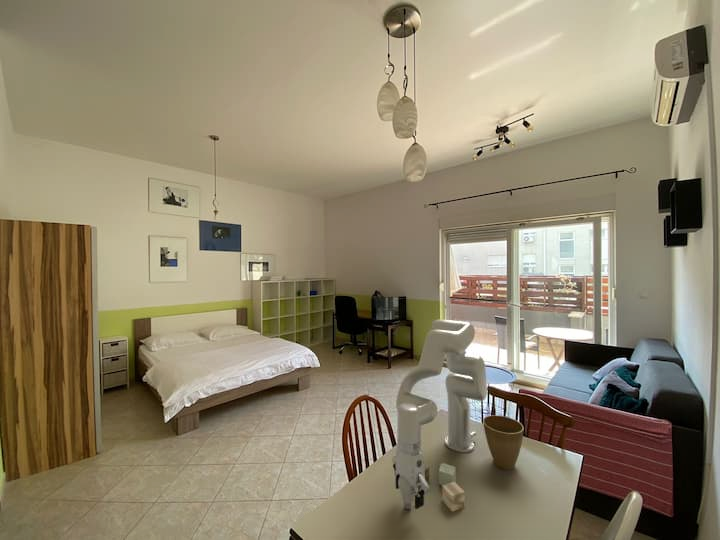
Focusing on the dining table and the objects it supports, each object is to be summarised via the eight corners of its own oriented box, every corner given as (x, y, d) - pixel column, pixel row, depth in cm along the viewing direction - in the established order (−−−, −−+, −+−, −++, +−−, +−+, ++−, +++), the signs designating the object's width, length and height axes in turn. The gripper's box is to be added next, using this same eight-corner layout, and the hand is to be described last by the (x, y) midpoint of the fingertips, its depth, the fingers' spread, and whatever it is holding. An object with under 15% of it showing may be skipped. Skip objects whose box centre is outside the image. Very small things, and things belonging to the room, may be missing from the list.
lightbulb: (404, 498, 98) (404, 465, 99) (420, 507, 94) (420, 473, 95) (394, 509, 94) (394, 475, 94) (411, 519, 90) (411, 483, 90)
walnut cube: (417, 474, 111) (417, 460, 111) (429, 480, 107) (429, 466, 107) (410, 480, 107) (410, 467, 107) (422, 487, 104) (421, 473, 104)
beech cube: (454, 496, 99) (454, 481, 99) (464, 507, 95) (464, 491, 95) (442, 500, 98) (442, 485, 98) (452, 511, 93) (451, 495, 93)
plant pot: (514, 453, 124) (513, 415, 124) (531, 477, 109) (530, 434, 109) (478, 451, 125) (478, 413, 125) (490, 474, 110) (490, 432, 111)
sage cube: (442, 476, 109) (442, 462, 110) (455, 480, 107) (455, 467, 107) (438, 484, 105) (438, 470, 105) (453, 489, 103) (452, 475, 103)
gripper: (436, 453, 89) (437, 510, 89) (401, 428, 104) (401, 476, 103) (418, 461, 85) (418, 520, 85) (384, 434, 100) (384, 484, 100)
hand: (409, 496), depth 94 cm, fingers open, 9 cm apart
